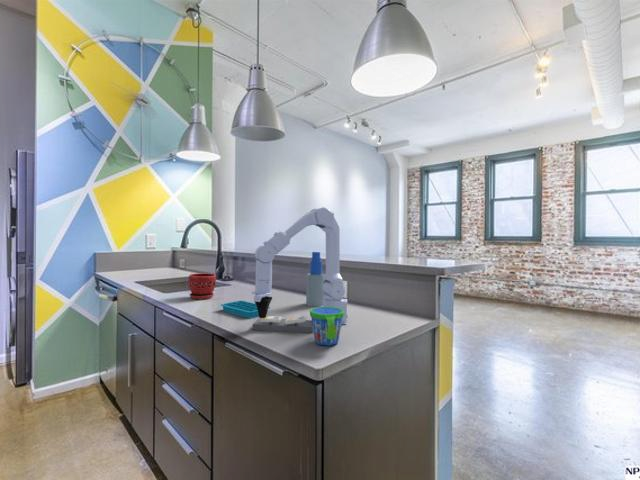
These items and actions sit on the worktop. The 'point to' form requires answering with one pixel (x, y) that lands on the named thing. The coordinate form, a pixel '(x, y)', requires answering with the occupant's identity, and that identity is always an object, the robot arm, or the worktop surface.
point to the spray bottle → (315, 282)
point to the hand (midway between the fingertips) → (262, 317)
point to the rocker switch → (295, 320)
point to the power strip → (283, 326)
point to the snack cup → (326, 324)
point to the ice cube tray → (241, 308)
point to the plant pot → (202, 285)
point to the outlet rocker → (271, 319)
